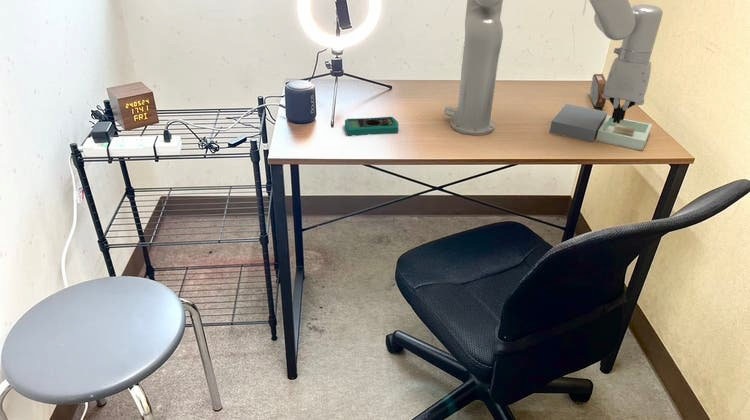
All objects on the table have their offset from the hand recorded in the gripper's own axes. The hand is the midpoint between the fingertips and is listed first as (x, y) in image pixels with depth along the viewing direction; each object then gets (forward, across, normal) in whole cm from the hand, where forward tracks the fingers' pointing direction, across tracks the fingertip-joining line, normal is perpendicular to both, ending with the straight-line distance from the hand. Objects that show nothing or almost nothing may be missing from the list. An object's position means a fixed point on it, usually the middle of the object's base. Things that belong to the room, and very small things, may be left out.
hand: (616, 121), depth 153 cm
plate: (+4, -10, 0) cm, 11 cm away
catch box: (+4, +3, 0) cm, 5 cm away
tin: (+5, -10, +24) cm, 26 cm away
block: (+2, +2, 0) cm, 3 cm away
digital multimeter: (+5, -59, -33) cm, 68 cm away
